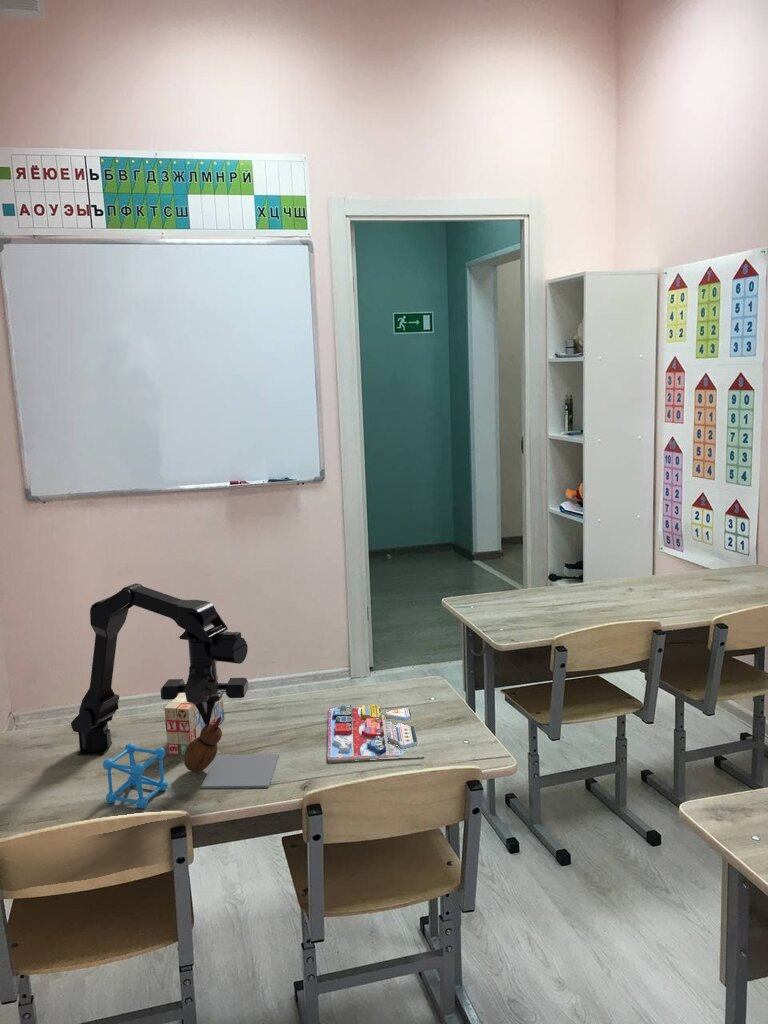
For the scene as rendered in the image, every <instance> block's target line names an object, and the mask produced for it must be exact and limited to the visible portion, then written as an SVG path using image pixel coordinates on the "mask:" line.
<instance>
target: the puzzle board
mask: <svg viewBox="0 0 768 1024" xmlns="http://www.w3.org/2000/svg"><path fill="white" fill-rule="evenodd" d="M380 706H381V705H379V704H378V703H377V704H374V703H372V704H363V705H361V706H352V705H351V704H350V705H349V704H347V705H340V706H335V707H334V706H332V707H328V715H327V717H328V718H327V720H328V721H327V762H328V763H329V762H333V763H336V762H335V761H354V762H356V761H355V760H370V759H379V758H388V757H400V755H404V754H403V753H404V752H405V751H406V750H404V751H401V750H400V749H406V748H410V747H414V746H418V740H417V735H416V731H415V727H414V726H408V725H404V724H402V723H398V724H397V725H394V724H392V722H391V721H392V720H383V719H384V715H382V714H381V713H380V712H381V707H380ZM361 709H362V712H361ZM385 717H386V719H395V720H396V719H397V720H402V721H403V720H404V721H407V720H409V719H411V711H410V709H409V708H402V709H395V710H391V711H389V712H386V713H385ZM395 726H396V727H395ZM387 737H388V741H387ZM389 742H390V743H389ZM394 744H395V745H394ZM396 745H398V746H399V748H400V749H399V748H398V746H396ZM400 752H402V753H400Z"/></svg>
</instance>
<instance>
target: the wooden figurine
mask: <svg viewBox="0 0 768 1024" xmlns="http://www.w3.org/2000/svg"><path fill="white" fill-rule="evenodd" d="M220 721H221V716H220V717H219V718H218V719H217V721H216V722H215V724H209V725H206V726H205V727H204V728H203V729H202V731H201V733H200V737H198V738H196V739H194V740H193V741H192V742H191V743H190V744H189V745H188V747H187V749H186V751H185V755H183V756H184V757H183V764H184V765H185V767H186V769H187V770H189V771H191V772H193V773H201V772H202V771H204V770H205V769H206V768H207V767H209V765H211V764H212V763H213V761H214V759H215V757H216V755H217V754H218V753H217V752H218V743H219V742H220V740H221V739H222V738H223V737H222V736H223V730H222V728H221V727H220V725H221V723H220ZM219 724H220V725H219Z"/></svg>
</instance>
